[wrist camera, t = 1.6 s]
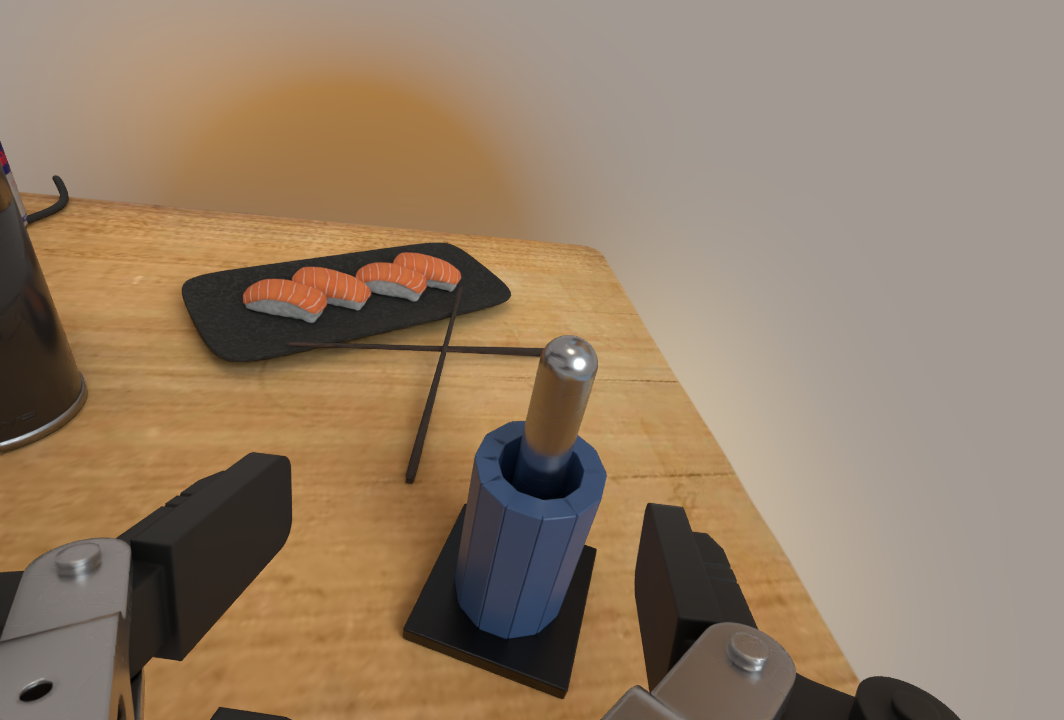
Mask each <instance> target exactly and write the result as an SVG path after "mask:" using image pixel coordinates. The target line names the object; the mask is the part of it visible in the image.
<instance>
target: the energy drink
mask: <svg viewBox="0 0 1064 720" xmlns="http://www.w3.org/2000/svg"><path fill="white" fill-rule="evenodd" d="M0 161H1V164H2V166H3V169H4V172H5V174H6V177H7V180H8V182H9V185H10V188H11V191H12V193H13V196H14V198H15V200H16V203H17V206H18V208H19V211H20V214H21V216H22V219H23V222H24V224H25V227H26V225H27V224H28V223H27V213H26V211H25V208H24V205H23V202H22V200H21V197H20V194H19V191H18V189H17V186H16V183H15V181H14V178H13V175H12V172H11V169H10V166H9V164H8V161H7V158H6V155H5V153H4V150H3V147H2V145H1V142H0Z"/></svg>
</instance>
